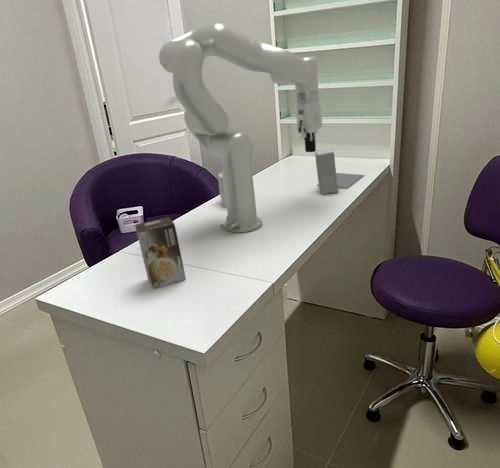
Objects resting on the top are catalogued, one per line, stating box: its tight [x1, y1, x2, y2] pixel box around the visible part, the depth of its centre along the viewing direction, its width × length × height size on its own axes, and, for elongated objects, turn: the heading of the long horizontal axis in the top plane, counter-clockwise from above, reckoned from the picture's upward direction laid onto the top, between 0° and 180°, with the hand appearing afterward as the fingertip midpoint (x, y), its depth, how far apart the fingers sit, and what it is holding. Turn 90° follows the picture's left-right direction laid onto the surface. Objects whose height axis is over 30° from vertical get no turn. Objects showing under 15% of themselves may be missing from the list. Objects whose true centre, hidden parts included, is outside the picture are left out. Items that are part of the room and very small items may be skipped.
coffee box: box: [134, 216, 187, 289], centre depth 109 cm, size 9×6×16 cm
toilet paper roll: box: [217, 171, 227, 208], centre depth 161 cm, size 12×12×12 cm
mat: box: [316, 172, 365, 190], centre depth 175 cm, size 18×13×1 cm
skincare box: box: [314, 147, 339, 195], centre depth 162 cm, size 8×7×16 cm
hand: (310, 151), depth 149 cm, fingers closed
